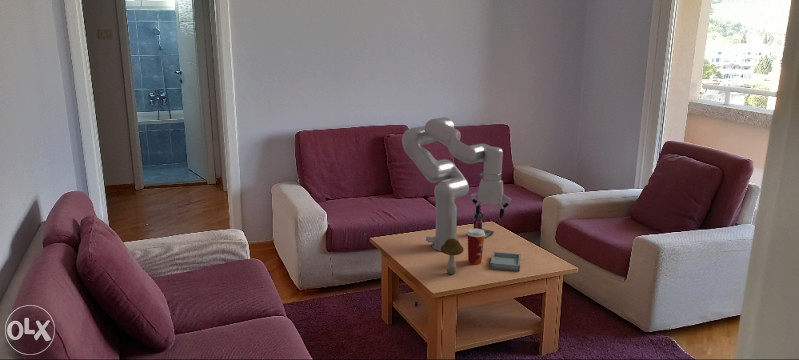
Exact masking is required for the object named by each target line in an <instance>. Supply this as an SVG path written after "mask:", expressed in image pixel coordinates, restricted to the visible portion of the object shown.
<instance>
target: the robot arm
mask: <svg viewBox="0 0 799 360" xmlns="http://www.w3.org/2000/svg"><path fill="white" fill-rule="evenodd" d="M461 137H462V135H461V132H460V131H459V129H457V128H455V123H454V122H453V120H451V118H449V117H445V116H444V117H443V116H442V117H437V118H431V119H429V120H428V121H427V122H426V123H425V125H422V126H421V125H420V126H414V127H411V128H408V129H407V130H405V131H404V133H403V134H402V138H401V142H402V143H401V144H402V148H403V150H404V152H405V154H406V155H407V156H408V158H410V159H411V161H412V162H413V163H414V164H415V165H416V167H417V168H418V170H419V171H420V172H421V173H422V175H423V176H424V177H425V179H426V180H427V181H428V182H429V183H433V184H434V183H436V184H435V187H434V189H433V192H434V194H433V195H434V200H435V233H434V234H435V235H434V236H426V237H425V241H426V242H427V243H431V247H432V249H433V250H435V251H440V252H442V251H441V246H442V245H444V243H445V242H446V241H447V240H448V239H451V238H453V239H456V240H457V227H458V226H457V222H458V208H457V205H456V203H455V200H458V199H460V198H464V197H465V196H467V195H468V193H469V190H470V185H469V182H468V180H467V179H466V177H464V175H463V173H462V172H461V171H460V170H459V168H458V167H457V166H456V165H455V163H454V162H452V161H451V160H449V159H439V160H437V159H436V158H435V157H434V156H433V154H432V153H431V152H430V151H429V150H428V149H426V148H424V147H423V145H428V144H432V143H436V142H439V143H441V144H442V145H443V146H445V147H447V148H448V151H449V153H450V154H451V155H452V156H453V157H454V158H455V159H457V160H458V161H460V162H463V163H465V164H469V165H473V164H478V163H482V162H483V170H482V171H483V172H480V173H479V176H480V177H481V179H480V183H479V186H478V191H475V192H474V193H472V194H470V195H469V196H470V198H471V201H472V202H473V204H474V205H475V212H476V213H477V215H479V214H480V212H481V211H480V208H481V204H484V205H485V204H486V205H494V206H499V207H500V209H499V219H502V218H503V217H504V215H505V209H506V208H507V207H508V206H510V203H512V202H511V201H513V200H512V198H511V197H509V196H507V195H506V194H505V193H504V181H503V180H502V172H503V159H504V158H503V157H504V151H503V149H502V148H501V147H498V146H491V145H489V144H486V143H477V144H472V145H468V144H465V143H463V141H461ZM476 197H477V198H476ZM504 200H505V201H506V202H505V203H504Z"/></svg>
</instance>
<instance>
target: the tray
mask: <svg viewBox="0 0 799 360" xmlns="http://www.w3.org/2000/svg"><path fill="white" fill-rule="evenodd" d="M521 259H522V254H521V253H516V252H515V253H513V252H503V251H502V252H501V251H492V255H491V258H490V262H489V263H490V266H489V269H490V270H500V271H511V272H513V271H514V272H520V271H521V270H520V269H521V261H522V260H521Z"/></svg>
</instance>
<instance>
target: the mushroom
mask: <svg viewBox="0 0 799 360" xmlns="http://www.w3.org/2000/svg"><path fill="white" fill-rule="evenodd" d="M464 249H465V248H464V247H463V246H462V244H461V243H460V241H459V240H458V239H457V238H456V239H453V238H451V239H448V240H447V241H446V242H445V243H444V245H442V246H441V251H440V252H442V253H443V254H445V255H447V256H449V259H448V262H447V265H446V272H447V274H449V275H454V274H456V273H457V266H456V265H457V264H456V260H455V256H458V255H462V254H463V252H464Z"/></svg>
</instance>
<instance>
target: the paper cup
mask: <svg viewBox="0 0 799 360" xmlns="http://www.w3.org/2000/svg"><path fill="white" fill-rule="evenodd" d="M466 235H467V262H468V264H470V265H480V264H482V259H483V252H484V244H485V243H484V242H485V239H484V236H485V233H484V231H483V230H481V229H474V228H470V229H468V230H467V232H466Z"/></svg>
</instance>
